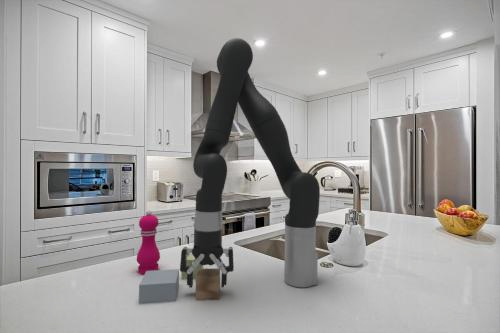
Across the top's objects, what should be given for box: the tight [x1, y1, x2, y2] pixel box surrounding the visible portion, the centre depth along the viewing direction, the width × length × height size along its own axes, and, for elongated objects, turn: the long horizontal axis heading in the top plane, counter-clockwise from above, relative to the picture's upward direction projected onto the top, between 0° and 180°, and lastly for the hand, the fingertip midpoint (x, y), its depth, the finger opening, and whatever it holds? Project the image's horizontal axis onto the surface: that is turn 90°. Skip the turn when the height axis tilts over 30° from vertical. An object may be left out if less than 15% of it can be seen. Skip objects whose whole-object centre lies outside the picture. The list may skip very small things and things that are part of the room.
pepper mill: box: [136, 209, 161, 275], centre depth 88 cm, size 7×7×20 cm
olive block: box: [180, 253, 204, 280], centre depth 85 cm, size 6×6×6 cm
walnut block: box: [195, 267, 221, 301], centre depth 72 cm, size 6×6×6 cm
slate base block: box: [138, 268, 180, 305], centre depth 72 cm, size 9×9×5 cm
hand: (206, 286), depth 72 cm, fingers open, 8 cm apart
